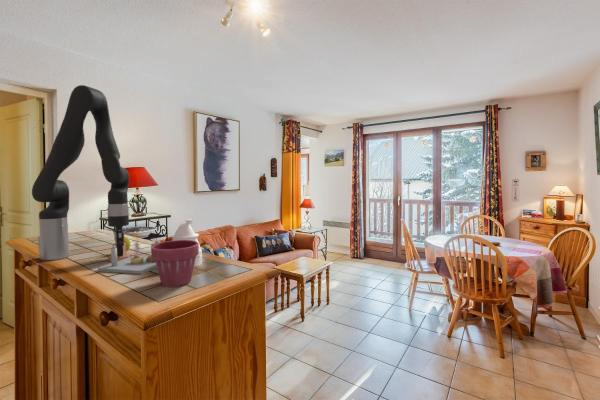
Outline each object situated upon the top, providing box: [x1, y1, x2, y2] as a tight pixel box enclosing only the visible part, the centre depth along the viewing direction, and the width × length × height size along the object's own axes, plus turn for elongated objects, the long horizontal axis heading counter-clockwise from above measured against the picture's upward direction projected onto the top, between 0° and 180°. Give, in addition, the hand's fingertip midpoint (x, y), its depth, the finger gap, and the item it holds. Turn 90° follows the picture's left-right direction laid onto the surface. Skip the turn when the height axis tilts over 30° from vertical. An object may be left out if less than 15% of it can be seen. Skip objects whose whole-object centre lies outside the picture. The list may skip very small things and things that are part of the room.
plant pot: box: [150, 240, 200, 288], centre depth 98 cm, size 14×14×13 cm
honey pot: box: [171, 218, 203, 268], centre depth 119 cm, size 13×13×18 cm
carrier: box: [97, 240, 161, 275], centre depth 117 cm, size 18×18×9 cm
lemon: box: [124, 236, 131, 252], centre depth 136 cm, size 6×6×8 cm
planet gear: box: [107, 242, 132, 262], centre depth 126 cm, size 8×8×6 cm
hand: (119, 254), depth 126 cm, fingers closed on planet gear, 4 cm apart
